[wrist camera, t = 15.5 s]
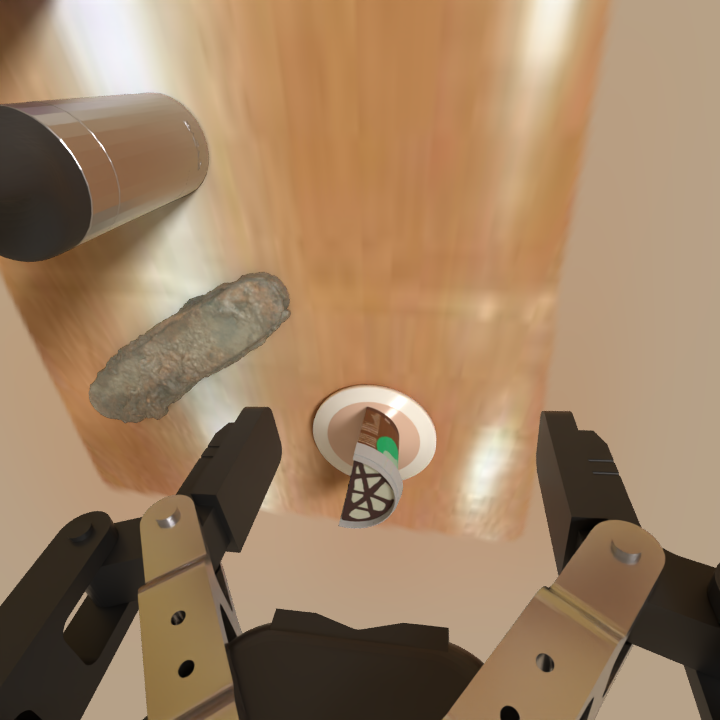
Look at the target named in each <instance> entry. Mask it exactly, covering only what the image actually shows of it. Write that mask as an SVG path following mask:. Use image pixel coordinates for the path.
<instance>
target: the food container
mask: <svg viewBox="0 0 720 720" xmlns="http://www.w3.org/2000/svg"><path fill="white" fill-rule="evenodd" d="M398 458H399V432H398V429H397V427H396V425H395V424H394V422H393V421H392V420H391V419H390V418H389V417H388V416H387V415H385V414H384V413H382V412H380V411H379V410H376V409H374V408H371V407H366V411H365V415H364V419H363V422H362V426H361V430H360V434H359V437H358V441H357V444H356V448H355V452H354V456H353V460H354V461H353V467H352V472H351V475H350V481H349V484H348V490H347V494H346V498H345V502H344V506H343V510H342V514H341V518H340V522H339V526H340V527H345V528H367V527H371V526H375V525H377V524H380V523H381V522H383V521H385V520H386V519H387V518H388V517H389V516H390V515H391V514H392V512H393V511H394V510H395V508H396V506H397V504H398V502H399V499H400V497H401V495H402V490H403V482H402V478H401V475H400V473H399V471H398Z"/></svg>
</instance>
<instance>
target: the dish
mask: <svg viewBox="0 0 720 720" xmlns="http://www.w3.org/2000/svg"><path fill="white" fill-rule="evenodd" d="M366 407H371V408H374V409H376V410H379V411H380V412H382V413H384V414H385V415H387V416H388V417H389V418H390V419H391V420H392V421H393V422H394V424H395V425H396V427H397V429H398V432H399V458H398V471H399V473H400V475H401V478H402V480H405V479H408V478H410V477H413V476H415V475H416V474H418V473H419V472H421V471H422V470H423V469H424V468H425V467H426V466H427V465H428V464H429V463H430V461H431V460H432V458H433V455H434V453H435V449H436V430H435V427H434V423H433V421H432V419H431V417H430V416H429V414H428V413H427V411H426V410H425V409H424V408H423V407H422V406H421V405H420V404H419V403H418V402H416V401H415V400H414V399H412V398H411V397H409V396H408V395H406V394H404V393H402V392H400V391H397V390H395V389H392V388H388V387H384V386H378V385H356V386H351V387H347V388H344V389H341V390H339V391H337V392H335V393H334V394H332V395H330V396H329V397H328V398H327V399H326V400H325V401H324V402H323V403H322V404H321V406H320V407H319V409H318V411H317V414H316V416H315V419H314V423H313V435H314V440H315V443H316V445H317V447H318V449H319V451H320V452H321V454H322V455H323V456H324V458H325V459H326V460H327V461H328V462H329V463H330V464H331V465H333V466H334V467H335V468H337V469H338V470H340V471H341V472H343V473H345V474H347V475H349V476H350V475H351V472H352V467H353V461H354V460H353V456H354V452H355V448H356V444H357V441H358V437H359V434H360V430H361V426H362V422H363V419H364V415H365V411H366Z"/></svg>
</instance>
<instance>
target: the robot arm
mask: <svg viewBox="0 0 720 720" xmlns="http://www.w3.org/2000/svg"><path fill="white" fill-rule="evenodd" d="M208 164H209V153H208V148H207V142H206V139H205V137H204V134H203V131H202V129H201V127H200V126H199V124H198V122H197V120H196V119H195V118H194V117H193V115H192V114H191V113H190V112H189V111H188V110H187V109H186V108H185V107H184V106H183V105H182V104H181V103H179V102H178V101H176V100H174V99H173V98H171V97H168V96H166V95H163V94H159V93H140V94H124V95H111V96H98V97H85V98H72V99H59V100H46V101H32V102H23V103H10V104H0V256H3V257H5V258H9V259H12V260H17V261H24V262H36V261H42V260H46V259H50V258H52V257H55V256H57V255H59V254H62V253H64V252H66V251H68V250H70V249H72V248H74V247H76V246H78V245H81V244H83V243H85V242H87V241H89V240H91V239H93V238H95V237H97V236H99V235H101V234H104V233H106V232H108V231H110V230H112V229H114V228H116V227H119V226H121V225H123V224H125V223H127V222H129V221H131V220H134V219H136V218H138V217H140V216H142V215H144V214H146V213H149V212H151V211H153V210H155V209H157V208H159V207H161V206H163V205H166V204H168V203H170V202H172V201H175V200H177V199H179V198H181V197H183V196H185V195H187V194H190V193H191V192H193V191H194V190H196V189H197V188H198V187H199V186H200V184H201V183H202V182H203V180H204V178H205V176H206V173H207V169H208ZM281 455H282V446H281V441H280V438H279V434H278V431H277V427H276V424H275V420H274V417H273V413H272V411H271V409H270V408H269V407H245V408H244V409H243V410H242V411H241V413H240V415H239V416H238V418H237V419H236V421H235V423H228V424H227V425H226V426H224V427H223V428H222V429H221V430H219V431H218V432H217V433H216V434H215V436H214V437H213V439H212V440H211V442H210V443H209V445H208V448H206V449H205V451H204V452H203V454H202V455H201V458H199V460H198V462H197V463H196V465H195V466H194V468H193V469H192V471H191V472H190V474H189V475H188V477H187V478H186V480H185V481H184V483H183V484H182V486H181V488H180V489H179V491H178V492H177V494H176V495H172V496H168V497H166V498H163V499H161V500H159V501H158V502H156V503H155V504H153V505H152V506H151V507H150V508H149V509H148V510H147V511H146V512H145V514H144V515H143V517H140V518H136V519H131V520H127V521H122V522H118V523H113V521H112V520H111V518H110V517H109V515H108V514H106V513H105V512H101V511H94V512H89V513H86V514H83V515H81V516H79V517H77V518H75V519H73V520H72V521H70V522H69V523H68V524H66V525H65V526H64V527H63V528H62V529H61V530H60V531H59V533H58V534H57V535H56V536H55V538H54V539H53V540H52V541H51V543H50V544H49V545H48V547H47V548H46V549H45V550H44V551H43V553H42V554H41V555H40V557H39V558H38V559H37V560H36V562H35V563H34V564H33V566H32V567H31V568H30V569H29V570H28V572H27V573H26V574H25V576H24V577H23V578H22V579H21V581H20V582H19V583H18V584H17V586H16V587H15V588H14V590H13V591H12V592H11V593H10V595H9V596H8V597H7V598H6V600H5V601H4V602H3V603H2V605H1V606H0V720H80V719H81V718H82V716H83V714H84V712H85V710H86V708H87V706H88V704H89V702H90V701H91V698H92V697H93V695H94V693H95V691H96V689H97V687H98V685H99V683H100V682H101V680H102V678H103V676H104V674H105V672H106V670H107V668H108V666H109V664H110V663H111V661H112V659H113V657H114V655H115V653H116V651H117V649H118V647H119V645H120V644H121V642H122V640H123V638H124V636H125V634H126V632H127V630H128V628H129V626H130V624H131V623H132V621H133V619H134V617H135V615H136V613H137V611H138V610H139V616H140V628H141V641H142V653H143V665H144V677H145V691H146V703H147V716H146V717H145V718H144V719H143V720H595V718H596V716H597V714H598V711H599V709H600V707H601V705H602V703H603V701H604V699H605V698H606V696H607V694H608V692H609V690H610V688H611V686H612V684H613V683H614V681H615V679H616V677H617V675H618V673H619V671H620V669H621V667H622V666H623V664H624V662H625V660H626V658H627V656H628V654H629V652H630V651H631V649H632V647H633V645H637V646H639V647H642V648H644V649H646V650H649V651H651V652H653V653H656V654H658V655H661V656H663V657H666V658H668V659H670V660H673V661H675V662H678V663H680V664H683V665H684V667H685V670H686V674H687V677H688V680H689V683H690V686H691V689H692V692H693V695H694V698H695V701H696V704H697V707H698V710H699V713H700V717H701V720H720V563H719V564H718V565H717V567H716V568H714V567H711V566H708V565H705V564H702V563H699V562H696V561H692V560H689V559H686V558H683V557H680V556H678V555H675V554H673V553H671V552H669V551H667V550H665V549H664V548H662V547H661V545H660V543H659V542H658V541H657V540H656V538H655V537H654V536H652V535H651V534H650V533H649V532H648V531H646V530H644V529H643V528H642V527H641V525H640V524H639V521H638V519H637V516H636V514H635V511H634V509H633V506H632V504H631V502H630V499H629V497H628V494H627V492H626V489H625V487H624V484H623V482H622V480H621V477H620V476H619V472H618V470H617V467H616V465H615V463H614V462H613V457H612V455H611V453H610V450H609V448H608V445H607V444H606V443H605V442H604V441H603V440H602V439H601V438H600V437H599V436H598V435H597V434H596V433H595V432H594V431H585V430H578V428H577V426H576V422H575V420H574V417H573V414H572V412H570V411H542V412H541V416H540V425H539V434H538V443H537V453H536V464H537V473H538V479H539V483H540V488H541V493H542V498H543V503H544V507H545V513H546V517H547V522H548V527H549V532H550V537H551V542H552V546H553V551H554V556H555V561H556V566H557V571H558V575H559V576H558V578H557V579H556V580H555V582H554V583H553V584H552V586H550V587H549V588H548V587H546V586H544V587H542V588H541V589H540V590H539V591H538V592H537V593H536V594H535V596H534V597H533V598H532V600H531V601H530V602H529V604H528V605H527V606H526V608H525V609H524V610H523V612H522V613H521V614H520V616H519V617H518V618H517V620H516V621H515V623H514V624H513V625H512V627H511V628H510V629H509V631H508V632H507V633H506V635H505V636H504V637H503V639H502V640H501V642H500V643H499V644H498V646H497V647H496V648H495V650H494V651H493V652H492V654H491V655H490V656H489V658H488V659H487V660H486V662H485V663H483V662H482V661H481V660H479V659H478V658H477V657H475V656H474V655H473V654H471V653H470V652H468V651H466V650H465V649H463V648H461V647H459V646H457V645H455V644H452V643H450V642H449V630H448V628H444V627H435V626H427V625H418V624H408V623H400V624H393V625H387V626H381V627H374V628H368V629H361V630H357V629H353V628H350V627H348V626H346V625H343V624H341V623H338V622H336V621H334V620H331V619H329V618H326V617H324V616H322V615H319V614H317V613H311V612H301V611H293V610H284V609H276V612H275V614H274V618H273V621H272V623H268V624H264V625H262V626H258V627H255V628H253V629H251V630H248V631H246V632H245V633H242V631H241V628H240V626H239V622H238V619H237V616H236V612H235V609H234V605H233V601H232V598H231V594H230V590H229V587H228V583H227V579H226V576H225V572H224V569H223V566H222V563H221V560H222V557H223V556H224V553H225V551H227V552H238V553H239V552H241V550H242V547H243V545H244V543H245V541H246V538H247V536H248V534H249V531H250V529H251V527H252V525H253V522H254V520H255V518H256V516H257V513H258V511H259V509H260V507H261V504H262V502H263V500H264V498H265V495H266V493H267V491H268V489H269V486H270V484H271V482H272V480H273V477H274V475H275V473H276V471H277V468H278V466H279V464H280V461H281ZM84 592H86V593H87V594H88V595H87V597H86V599H85V600H84V602H83V603H82V605H81V606H80V608H79V610H78V611H77V613H76V614H75V616H74V617H73V619H72V621H71V622H70V624H69V625H68V627H67V628H66V630H65V631H64V633H63V629H64V625H65V622H66V620H67V618H68V617H69V615H70V613H71V612H72V610H73V609H74V607H75V606H76V604H77V603H78V601H79V600H80V598H81V596H82V595H83V593H84Z"/></svg>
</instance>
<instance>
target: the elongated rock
mask: <svg viewBox="0 0 720 720" xmlns="http://www.w3.org/2000/svg"><path fill="white" fill-rule="evenodd" d="M289 303H290V299H289V294H288V291H287V289H286V287H285V286H284V284H283V283H282V282H281V280H280V279H279V278H278V277H276V276H272V275H270V274H269V273H265V272H261V273H260V272H259V273H255V274H253V273H251V274H246V275H242V276H241V278H240V279H238V280H237V281H235V282H232V283H223V284H221V285H219V286H217V287H216V288H215V289H214V290H212V291H209V292H208V293H207V294H206V295H202V296H198V297H196V298H192V299H189V301H188V302H187V303H185V304H184V306H183V308H180V310H179V312H178V313H177V314H174V315H172V316H171V317H169V318H168V319H165V320H163V321H162V322H160V323H158V324H157V325H156V326H154V327H153V328H152V329H151V330H149V331H147V332H146V333H145V335H139V339H136V340H135V341H131V342H130V344H129V345H126V346H124V347H122V348H121V349H120V350H118V354H117V355H114V356H113V357H111V358H110V360H109V361H108V362H107V364H106V367H105V368H104V369H102V370H101V371H99V372H98V373H97V378H96V380H95V381H94V382H93V383H92V384H91V385H90V391H89V399H90V402H91V404H92V405H93V407H94V408H95V409H96V410H97V411H98V412H99V413H100V414H101V415H103V416H105V417H107V418H111V419H118V420H122V421H123V422H124V423H127V422H134V423H137V422H140V421H142V420H143V419H144V418H146V417H147V418H153V417H154V418H155V419H157V420H158V419H161V418H162V417H163V416H165V415H166V414H167V412H168V408H167V406H169V405H170V404H171V403H175V402H176V401H178V400H179V399H180V398H181V397H182V396H183V395H184V394H185V393H186V392H188V391H189V390H190V389H191V388H192V387H193V386H194V385H195V384H197V382H198V381H200V380H201V379H202V378H204V377H209V376H210V375H212V374H213V373H216V372H218V371H220V370H221V369H223V368H225V367H227V366H229V365H231V364H233V363H234V362H237V361H238V360H239V359H241V357H244V356H245V355H246V354H247V353H248V352H249V351H251V350H254V349H256V348H258V347H259V346H261V345H263V343H264V342H265V340H266V339H267V338H268V337H269V336H270V335H271V334H272V333H273V332H274V331H276V330H277V329H278V328H279V327H280V325H281V323H282V322H285V321H286V320H287V319H288V318H289V317H290V315H291V312H290V310H288V309H287V307H288V306H289Z"/></svg>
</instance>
